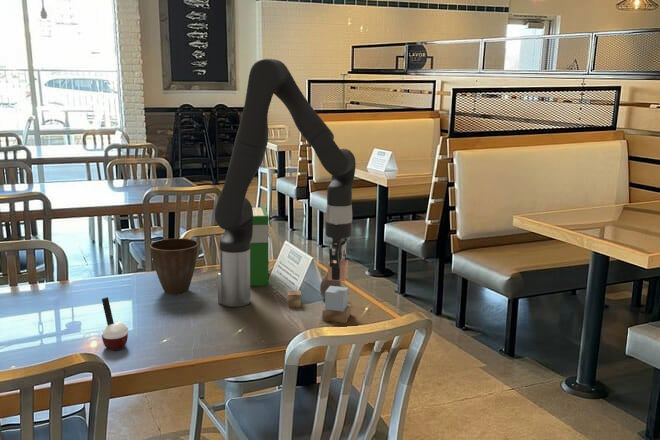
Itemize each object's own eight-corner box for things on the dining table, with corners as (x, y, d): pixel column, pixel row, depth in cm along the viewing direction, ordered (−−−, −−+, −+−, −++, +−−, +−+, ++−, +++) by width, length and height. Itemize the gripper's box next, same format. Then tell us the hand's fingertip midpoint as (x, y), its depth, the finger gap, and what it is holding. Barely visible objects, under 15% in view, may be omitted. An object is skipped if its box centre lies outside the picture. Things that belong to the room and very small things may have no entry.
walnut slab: (322, 321, 182) (322, 310, 181) (327, 312, 188) (327, 302, 188) (346, 323, 180) (346, 312, 180) (350, 315, 187) (350, 304, 186)
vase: (339, 303, 195) (339, 276, 194) (317, 301, 197) (318, 275, 195) (343, 296, 202) (343, 270, 200) (322, 294, 203) (322, 268, 201)
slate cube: (324, 309, 182) (325, 291, 180) (329, 303, 187) (330, 285, 186) (343, 311, 180) (343, 293, 179) (347, 305, 185) (348, 287, 184)
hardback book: (243, 270, 227) (242, 205, 221) (263, 269, 228) (263, 205, 223) (246, 286, 210) (245, 216, 204) (268, 285, 211) (268, 216, 206)
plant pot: (142, 294, 199) (139, 246, 195) (170, 281, 212) (169, 236, 209) (181, 302, 193) (179, 252, 190) (208, 288, 207) (207, 241, 203)
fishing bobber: (129, 353, 158) (129, 309, 155) (103, 356, 156) (102, 311, 153) (126, 337, 167) (125, 295, 164) (101, 339, 164) (100, 297, 161)
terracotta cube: (327, 280, 180) (327, 263, 178) (331, 274, 184) (331, 258, 183) (344, 281, 178) (345, 264, 177) (347, 276, 183) (348, 259, 182)
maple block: (287, 307, 192) (287, 294, 191) (286, 302, 195) (286, 290, 195) (300, 306, 192) (300, 294, 191) (299, 302, 196) (299, 290, 195)
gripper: (331, 213, 185) (330, 268, 189) (320, 224, 171) (319, 283, 175) (356, 215, 184) (354, 270, 187) (347, 226, 170) (345, 285, 174)
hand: (337, 276), depth 181 cm, fingers closed on terracotta cube, 5 cm apart
